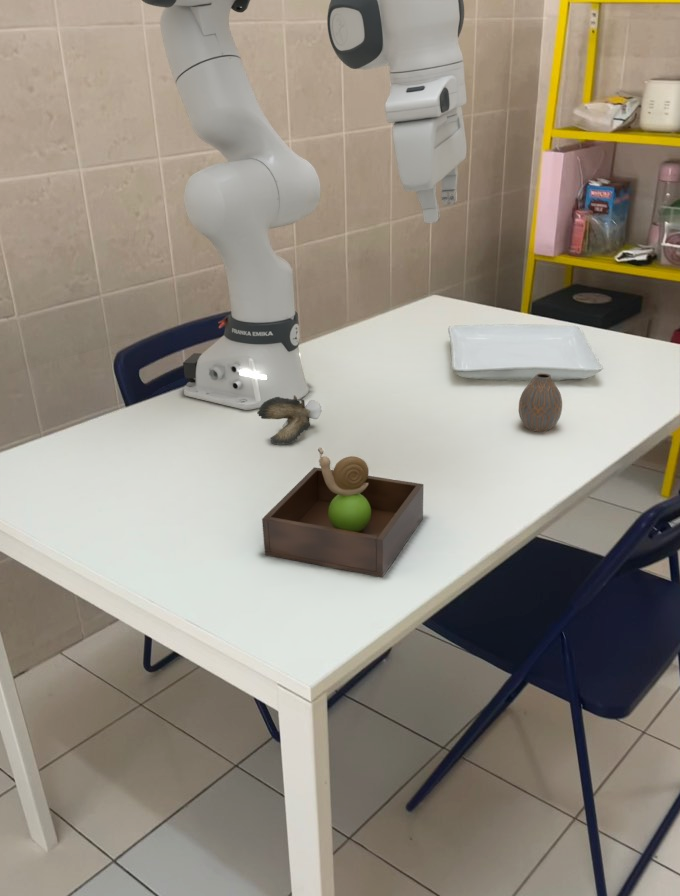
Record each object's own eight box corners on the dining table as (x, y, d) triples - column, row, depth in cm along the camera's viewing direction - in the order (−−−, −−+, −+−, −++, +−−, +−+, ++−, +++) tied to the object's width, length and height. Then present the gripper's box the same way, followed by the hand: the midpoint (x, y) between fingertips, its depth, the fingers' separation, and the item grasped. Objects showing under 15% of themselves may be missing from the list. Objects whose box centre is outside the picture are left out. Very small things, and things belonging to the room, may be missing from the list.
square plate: (446, 341, 184) (447, 323, 182) (578, 342, 183) (580, 323, 181) (451, 386, 160) (452, 365, 158) (602, 387, 159) (605, 366, 157)
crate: (264, 554, 109) (261, 518, 106) (315, 500, 121) (314, 467, 119) (382, 577, 104) (382, 540, 101) (423, 518, 116) (423, 483, 114)
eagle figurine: (282, 412, 147) (248, 420, 139) (303, 381, 143) (269, 387, 135) (312, 444, 145) (278, 454, 138) (334, 414, 141) (300, 422, 134)
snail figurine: (317, 525, 114) (312, 440, 108) (364, 518, 115) (362, 434, 109) (327, 545, 109) (324, 458, 103) (376, 537, 111) (376, 450, 105)
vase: (559, 436, 140) (565, 384, 135) (515, 433, 141) (519, 381, 136) (560, 420, 145) (565, 369, 141) (518, 417, 147) (522, 367, 142)
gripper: (425, 86, 115) (437, 196, 122) (379, 109, 98) (396, 235, 106) (472, 79, 112) (481, 192, 120) (434, 101, 96) (447, 230, 103)
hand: (441, 212), depth 112 cm, fingers open, 8 cm apart
